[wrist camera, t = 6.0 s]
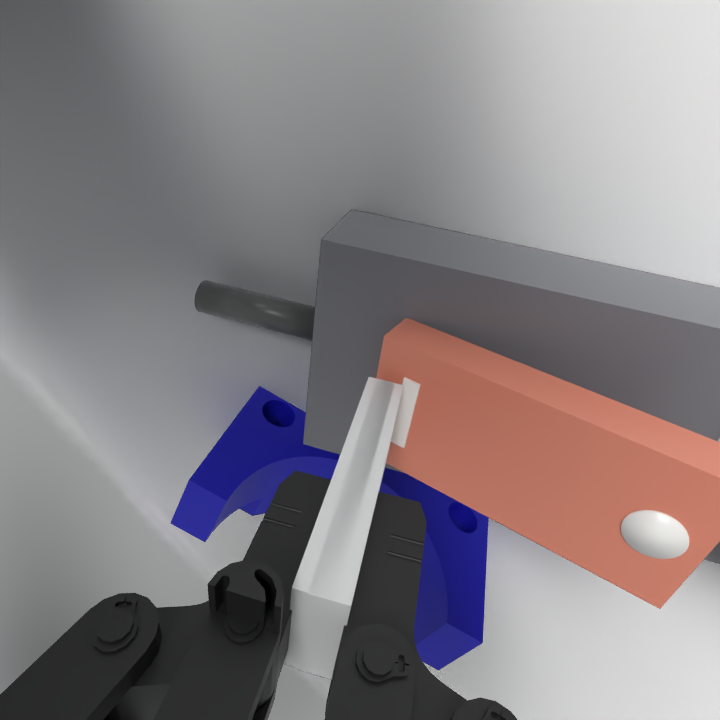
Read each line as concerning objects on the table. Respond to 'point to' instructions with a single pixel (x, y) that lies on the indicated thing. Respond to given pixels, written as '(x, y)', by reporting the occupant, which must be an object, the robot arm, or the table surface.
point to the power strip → (493, 320)
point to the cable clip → (288, 453)
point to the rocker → (554, 461)
